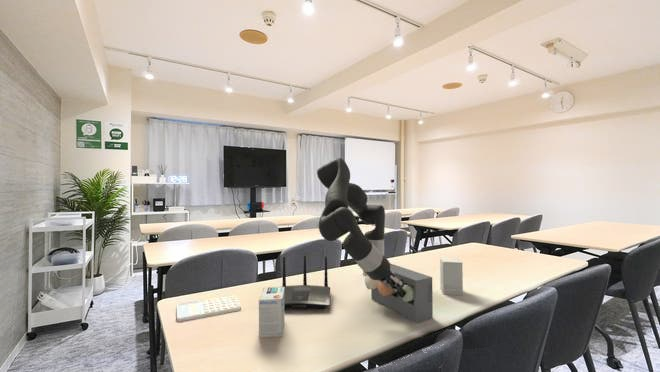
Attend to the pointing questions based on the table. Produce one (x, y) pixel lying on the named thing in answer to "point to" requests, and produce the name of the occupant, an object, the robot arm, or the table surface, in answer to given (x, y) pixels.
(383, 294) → the terracotta button
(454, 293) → the supplement box
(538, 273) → the table surface
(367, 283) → the cream button
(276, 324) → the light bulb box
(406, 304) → the button panel
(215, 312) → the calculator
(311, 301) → the router
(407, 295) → the sage button
